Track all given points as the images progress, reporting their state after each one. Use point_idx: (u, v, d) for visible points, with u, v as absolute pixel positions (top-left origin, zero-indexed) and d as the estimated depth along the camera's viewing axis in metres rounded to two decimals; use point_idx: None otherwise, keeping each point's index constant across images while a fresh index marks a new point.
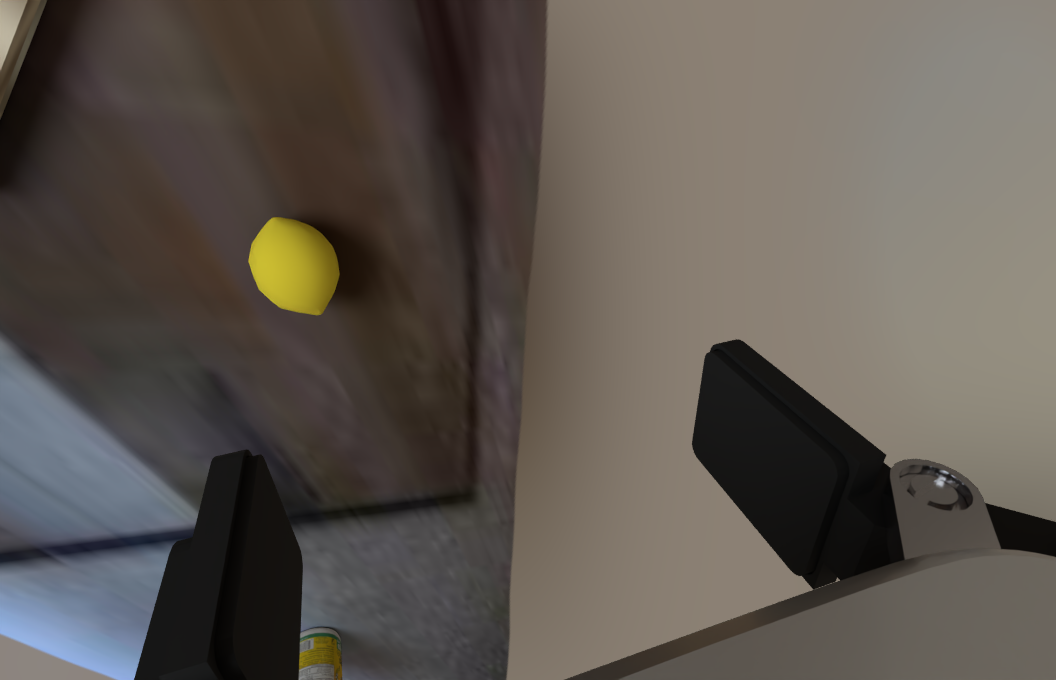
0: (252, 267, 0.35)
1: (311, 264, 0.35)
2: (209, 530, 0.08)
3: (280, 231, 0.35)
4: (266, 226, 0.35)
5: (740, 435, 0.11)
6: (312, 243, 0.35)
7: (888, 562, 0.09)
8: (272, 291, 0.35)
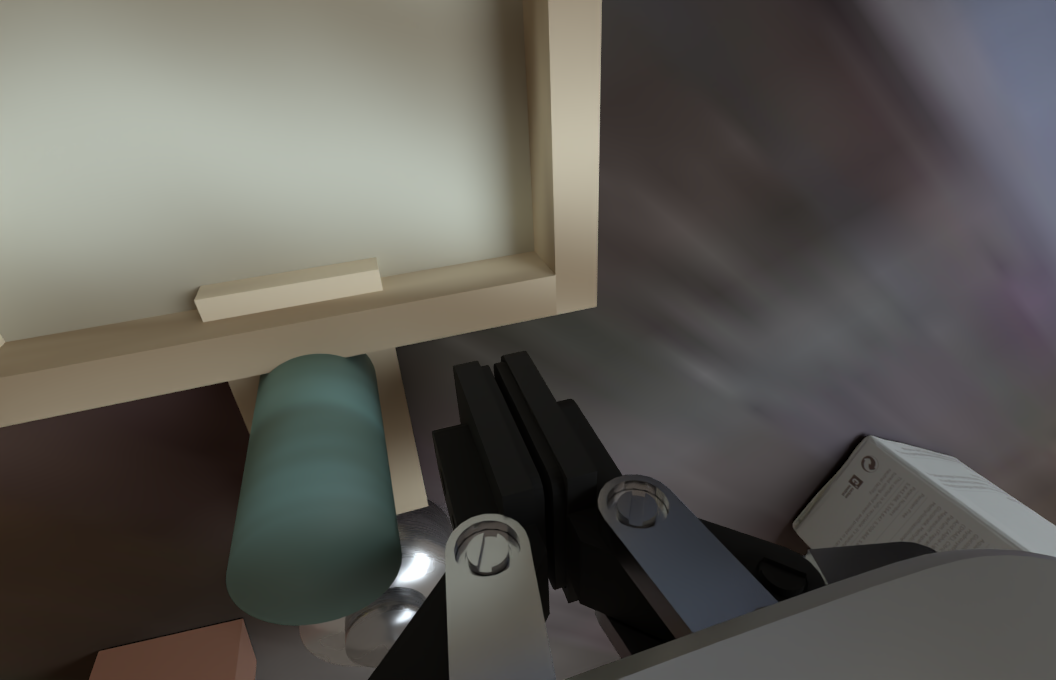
0: None
1: None
2: (483, 411, 0.10)
3: None
4: None
5: None
6: None
7: (635, 593, 0.09)
8: None
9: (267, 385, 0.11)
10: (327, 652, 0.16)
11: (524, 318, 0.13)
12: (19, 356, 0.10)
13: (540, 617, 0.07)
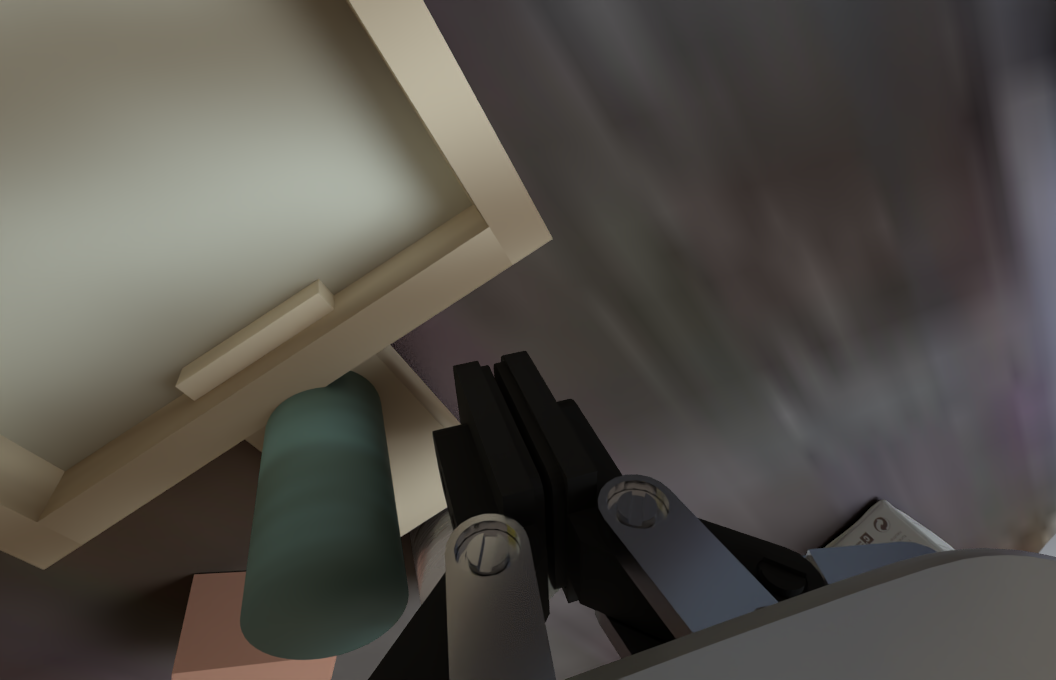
0: None
1: None
2: (483, 411, 0.10)
3: None
4: None
5: None
6: None
7: (635, 593, 0.08)
8: None
9: (264, 439, 0.11)
10: None
11: (480, 282, 0.12)
12: (71, 482, 0.12)
13: (540, 617, 0.07)
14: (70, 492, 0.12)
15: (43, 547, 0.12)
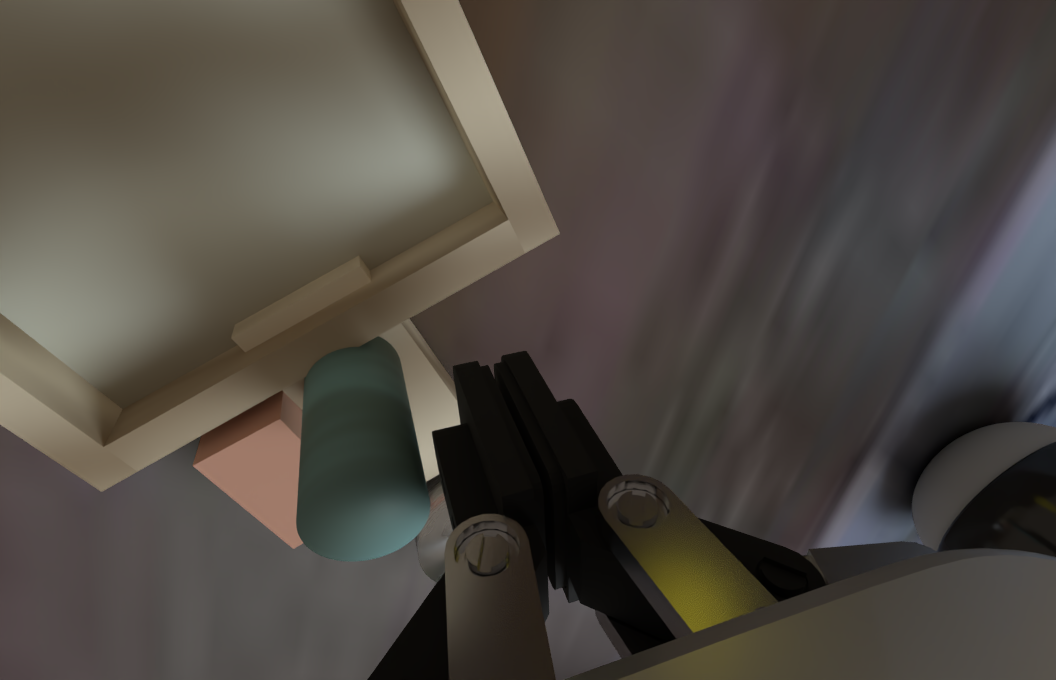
0: None
1: None
2: (482, 411, 0.10)
3: None
4: None
5: None
6: None
7: (635, 593, 0.08)
8: None
9: (305, 387, 0.13)
10: (437, 528, 0.18)
11: (497, 265, 0.14)
12: (132, 417, 0.14)
13: (539, 617, 0.07)
14: (132, 424, 0.13)
15: (104, 471, 0.13)
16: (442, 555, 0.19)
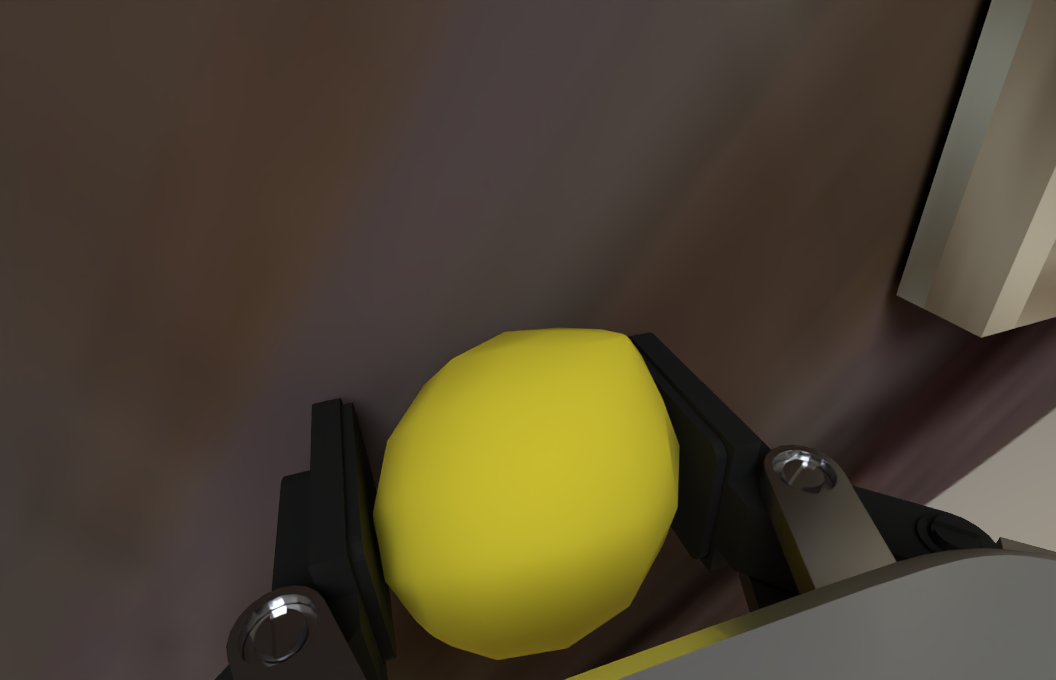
0: (480, 437, 0.08)
1: (646, 570, 0.09)
2: (323, 460, 0.09)
3: (653, 409, 0.09)
4: (609, 350, 0.09)
5: None
6: None
7: (777, 551, 0.09)
8: (485, 579, 0.08)
9: None
10: None
11: None
12: None
13: None
14: None
15: None
16: None
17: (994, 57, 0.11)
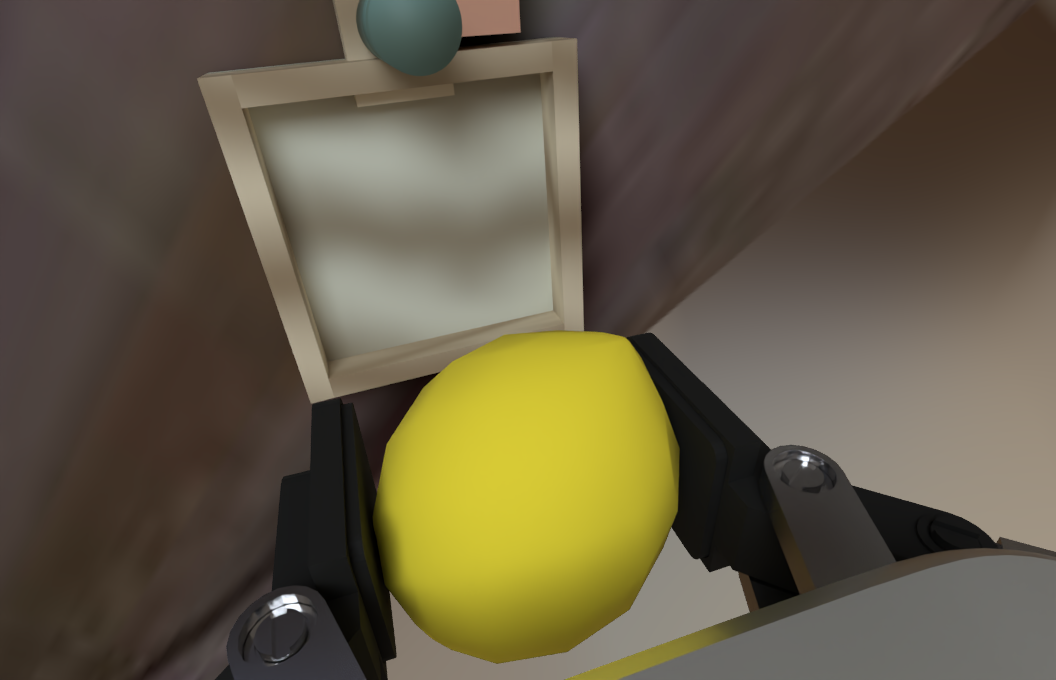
0: (480, 441, 0.08)
1: (646, 574, 0.09)
2: (324, 460, 0.09)
3: (653, 412, 0.09)
4: (609, 353, 0.09)
5: None
6: None
7: (777, 551, 0.09)
8: (485, 583, 0.08)
9: None
10: None
11: (257, 75, 0.18)
12: None
13: None
14: None
15: (564, 53, 0.21)
16: None
17: None
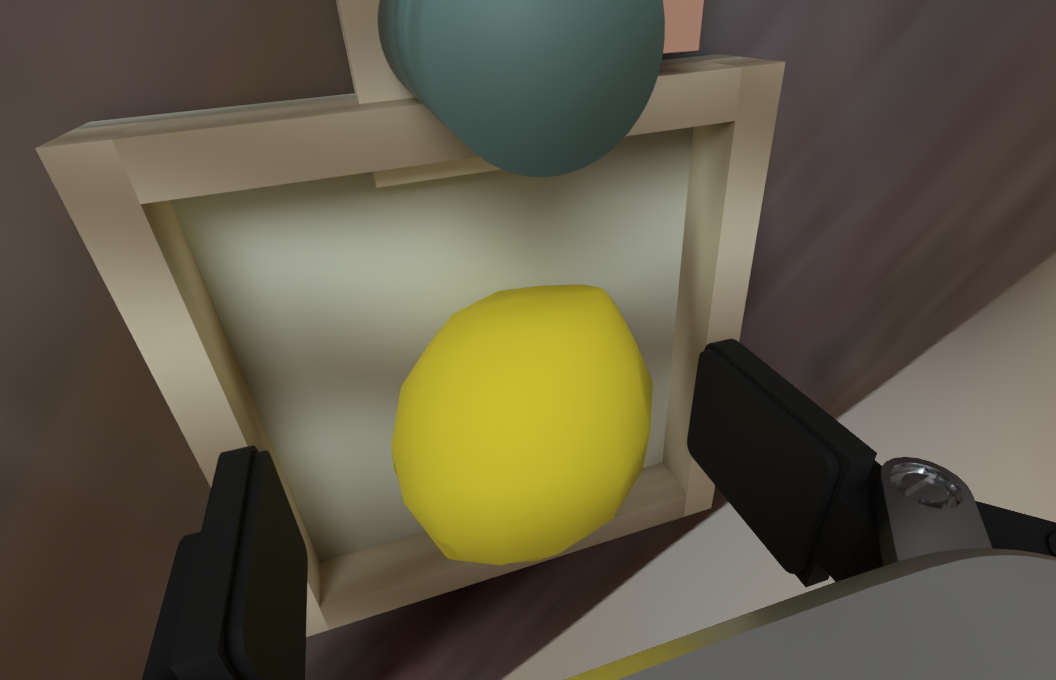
0: (476, 372, 0.10)
1: (624, 486, 0.11)
2: (217, 524, 0.08)
3: (625, 347, 0.11)
4: (587, 299, 0.11)
5: (733, 434, 0.11)
6: None
7: (880, 560, 0.09)
8: (485, 487, 0.10)
9: None
10: None
11: (170, 138, 0.09)
12: None
13: None
14: None
15: (760, 88, 0.11)
16: None
17: None
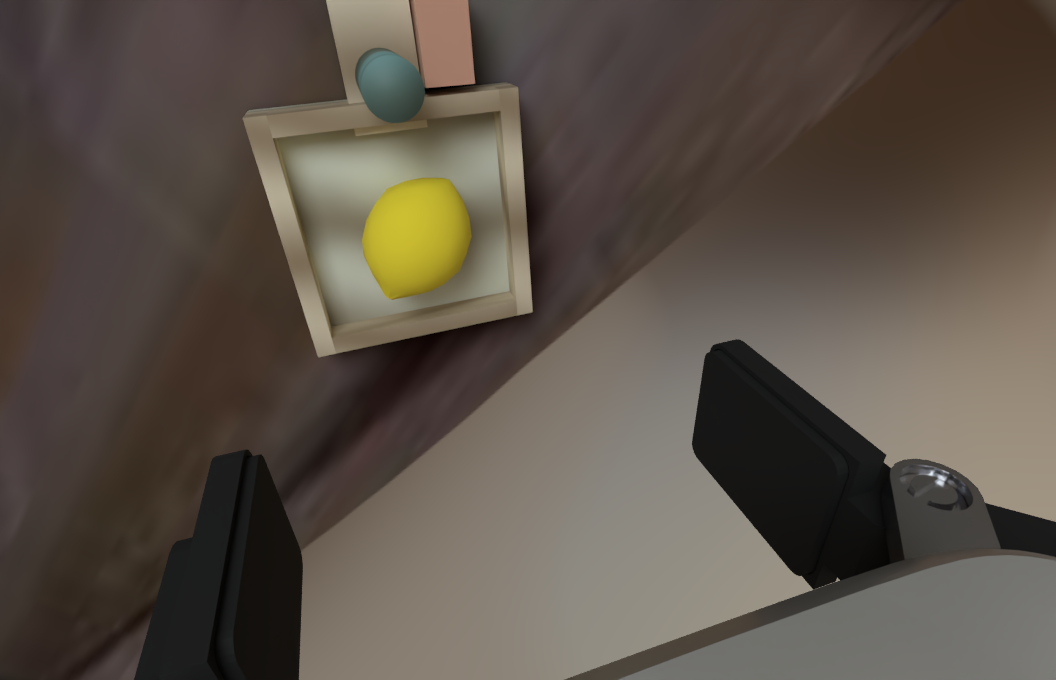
0: (392, 203, 0.27)
1: (453, 254, 0.28)
2: (209, 530, 0.08)
3: (453, 199, 0.28)
4: (439, 181, 0.28)
5: (740, 435, 0.11)
6: (467, 235, 0.28)
7: (888, 562, 0.09)
8: (394, 243, 0.26)
9: None
10: None
11: (284, 115, 0.25)
12: None
13: None
14: None
15: (509, 97, 0.28)
16: None
17: None
